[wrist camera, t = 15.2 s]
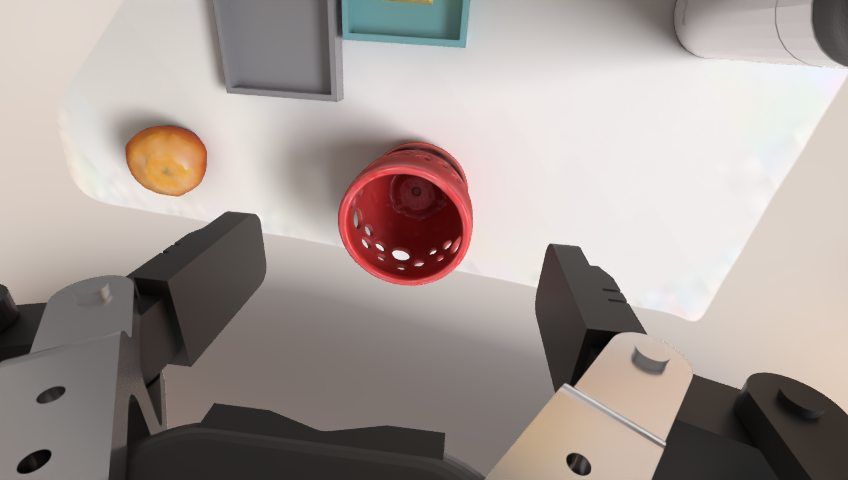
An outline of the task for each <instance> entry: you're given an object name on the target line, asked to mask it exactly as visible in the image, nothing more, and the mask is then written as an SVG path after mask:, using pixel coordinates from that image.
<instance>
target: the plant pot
mask: <svg viewBox="0 0 848 480" xmlns="http://www.w3.org/2000/svg"><path fill="white" fill-rule="evenodd" d="M355 209H356V211H357V215H358V225H357V228H356V227H355V225H354V212H355ZM338 226H339V232H340V236H341V239H342V242H343V244H344V246H345V248H346V250H347V251H348V253H349V254H350V256H351V257H352V258H353V259H354V260H355V262H356V263H358V264H359V265H360V266H361V267H362V268H363V269H364V270H366V271H367V272H369V273H370V274H372V275H373V276H375V277H377V278H379V279H382V280H385V281H387V282H390V283H394V284H400V285H423V284H426V283H430V282H434V281H436V280H439V279H441V278H443V277H444V276H446V275H447V274H449V273H450V272H452V271H453V270H454V269H455V268H456V267H457V266H458V265H459V264H460V262H461V261H462V260H463V258H464V256H465V255H466V253H467V250H468V248H469V245H470V241H471V235H472V228H473V213H472V204H471V200H470V197H469V194H468V185H467V180H466V176H465V174H464V171H463V169H462V168H461V166H460V164H459V163H458V162H457V161H456V160H455V158H454V157H452V156H451V155H450V154H449V153H448V152H446V151H445V150H443V149H441V148H439V147H437V146H434V145H431V144H428V143H421V142H412V143H406V144H402V145H400V146H397V147H395V148H393V149H391V150H390V151H388V152H387V153H386V154H385V155H384V156H383V157H381V158H379V159H377V160H376V161H374V162H373V163H372V164H370V165H369V166H368V167H367V168H366V169H364V170H363V171H362V172H361V173H360V174H359V176H358V177H357V178H356V179H355V180H354V181H353V183H352V184H351V185H350V187H349V188H348V189H347V191H346V193H345V195H344V197H343V199H342V201H341V204H340V208H339V213H338ZM365 226H367V227H368V229H369V230H370V236H369V235H368V234H367V233H366V231H365ZM362 239H363V240H365V242H366V243H367V245H368V248H366V247H365V246H364V245H363V243H362ZM450 243H451V245H450V246H449V248H447V249H445V248H446V247H447V245H448V244H450ZM459 243H460V244H459ZM375 244H379V245H381V246H382V247H383V249H384V251H381V250H380V249H378V248H377V247H376V245H375ZM458 245H459V247H458V249H457V250H456V251H455V249H456V248H457V246H458ZM395 250H399V251H404V252H406V253H407V254H408V255H409V256H410V258H409V259H407V260H398V259H396V258H394V256H393V255H392V252H393V251H395ZM435 250H436V253H434V254H431V255H430V253H431V252H432V251H435ZM454 251H455V252H454ZM378 257H381V258H382V259H383V260H384V261H383V260H380V259H379V258H378ZM442 258H443V259H442ZM440 259H442V260H440ZM439 260H440V261H439ZM418 263H424V264H423V265H422V266H414V265H416V264H418ZM398 268H404V270H400V269H398Z"/></svg>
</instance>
